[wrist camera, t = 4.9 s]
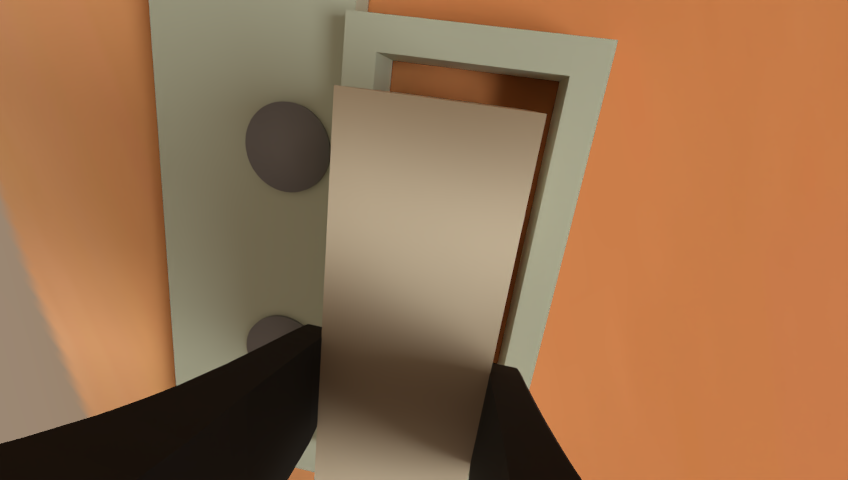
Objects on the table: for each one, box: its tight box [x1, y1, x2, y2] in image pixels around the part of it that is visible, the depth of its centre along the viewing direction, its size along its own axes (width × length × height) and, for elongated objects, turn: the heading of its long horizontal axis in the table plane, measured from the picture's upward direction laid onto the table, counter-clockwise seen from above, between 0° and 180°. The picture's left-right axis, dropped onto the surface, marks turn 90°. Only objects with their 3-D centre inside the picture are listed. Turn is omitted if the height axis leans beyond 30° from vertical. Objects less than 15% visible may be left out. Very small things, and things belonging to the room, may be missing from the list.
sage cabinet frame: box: [149, 0, 618, 480], centre depth 15 cm, size 20×14×2 cm
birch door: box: [314, 85, 547, 480], centre depth 11 cm, size 12×4×6 cm, turn 173°
